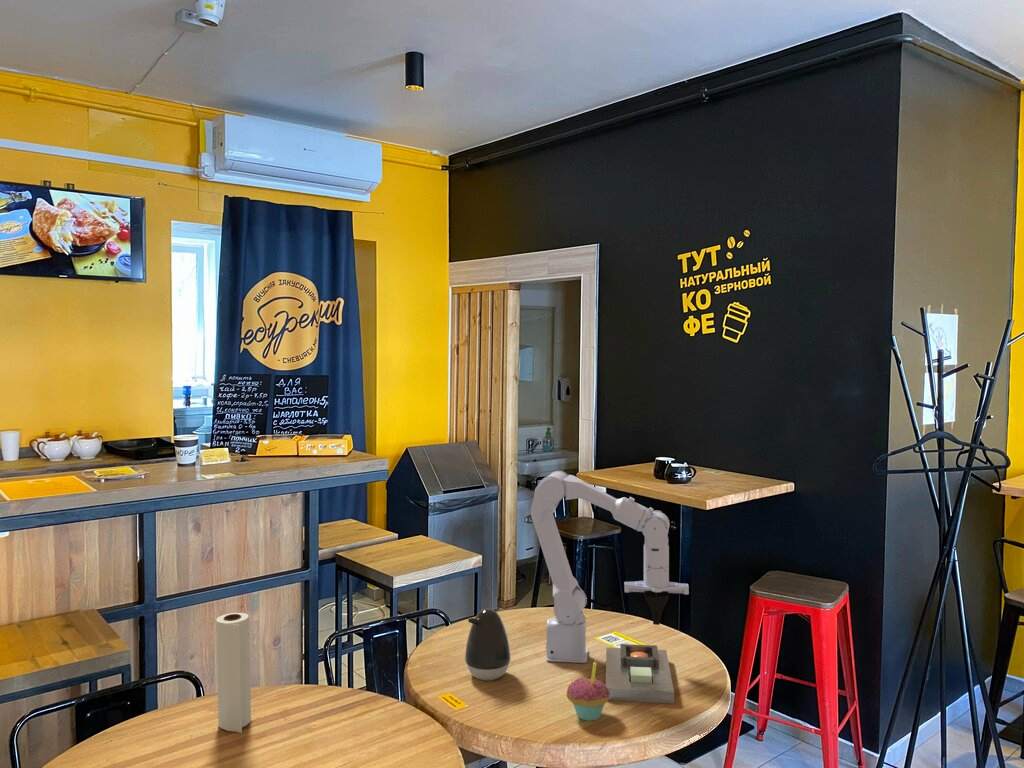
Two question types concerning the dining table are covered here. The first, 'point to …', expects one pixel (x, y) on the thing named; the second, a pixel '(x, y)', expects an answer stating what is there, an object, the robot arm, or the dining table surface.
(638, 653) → the button
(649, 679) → the pale green block
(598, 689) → the cupcake
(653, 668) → the control box
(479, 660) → the dark grey egg-shaped figure
